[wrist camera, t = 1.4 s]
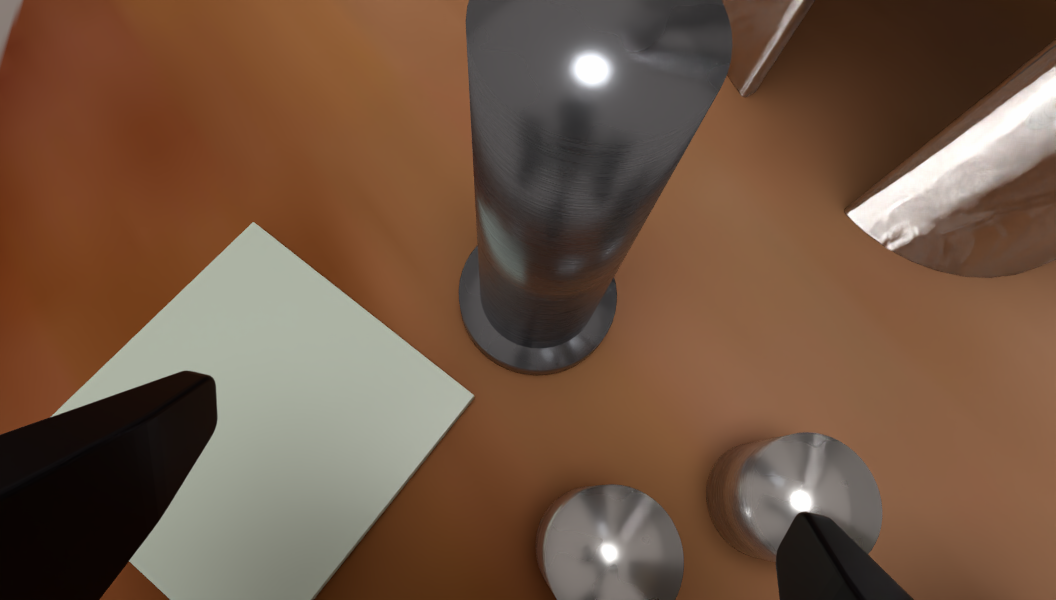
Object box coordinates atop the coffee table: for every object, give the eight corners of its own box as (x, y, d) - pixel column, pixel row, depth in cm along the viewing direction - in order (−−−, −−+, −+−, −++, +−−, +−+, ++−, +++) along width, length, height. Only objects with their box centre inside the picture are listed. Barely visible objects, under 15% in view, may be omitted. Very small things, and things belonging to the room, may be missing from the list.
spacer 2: (780, 583, 21) (844, 603, 17) (685, 510, 21) (726, 513, 18) (833, 488, 22) (904, 487, 18) (741, 421, 23) (791, 406, 19)
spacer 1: (606, 635, 20) (633, 669, 16) (512, 558, 21) (517, 572, 17) (670, 534, 21) (709, 542, 17) (579, 463, 22) (598, 456, 18)
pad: (257, 669, 19) (250, 675, 18) (26, 454, 21) (13, 452, 20) (474, 397, 22) (474, 395, 22) (259, 228, 24) (253, 221, 23)
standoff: (552, 407, 22) (651, 266, 8) (428, 311, 23) (336, 43, 9) (640, 288, 24) (842, 11, 10) (522, 203, 25) (561, -158, 11)
